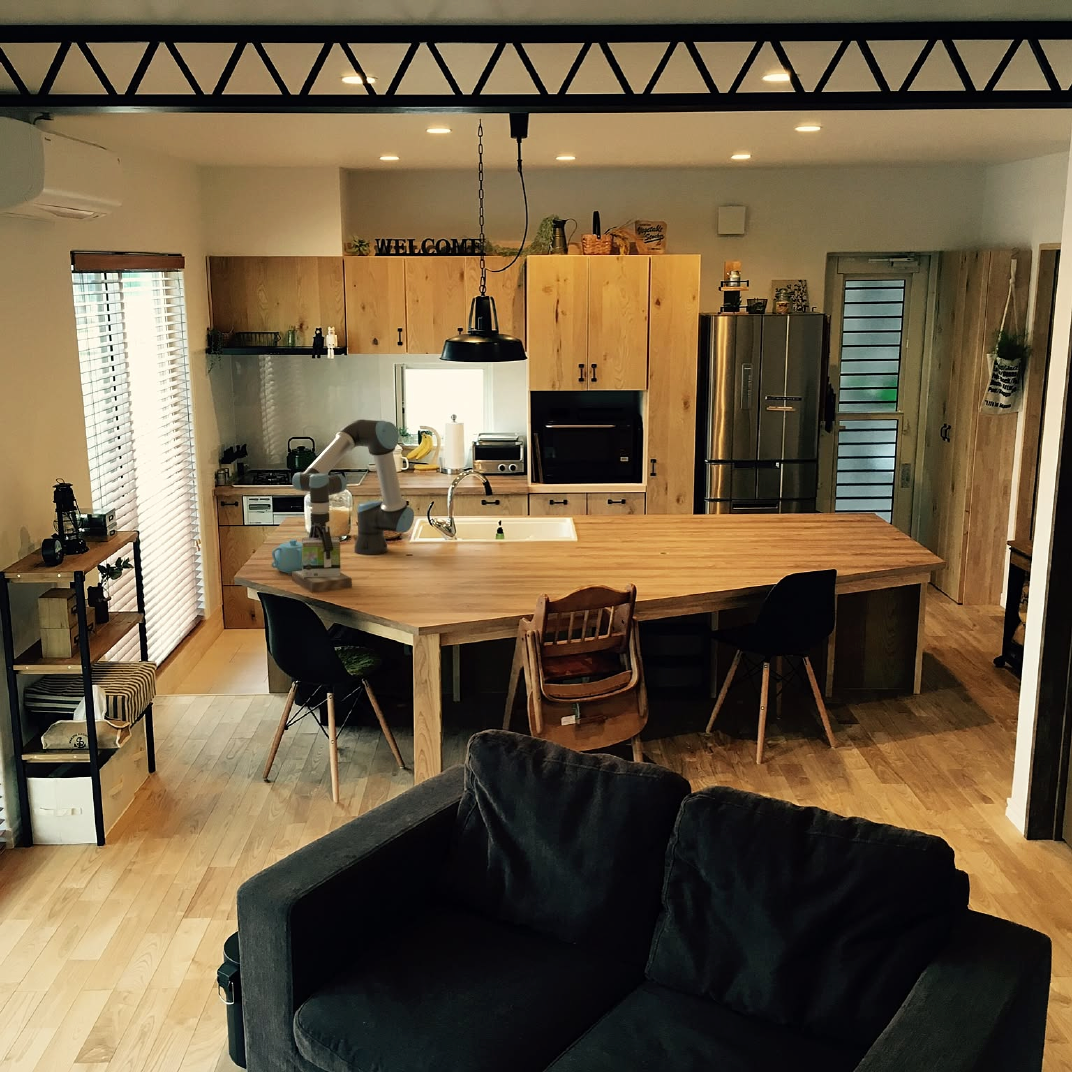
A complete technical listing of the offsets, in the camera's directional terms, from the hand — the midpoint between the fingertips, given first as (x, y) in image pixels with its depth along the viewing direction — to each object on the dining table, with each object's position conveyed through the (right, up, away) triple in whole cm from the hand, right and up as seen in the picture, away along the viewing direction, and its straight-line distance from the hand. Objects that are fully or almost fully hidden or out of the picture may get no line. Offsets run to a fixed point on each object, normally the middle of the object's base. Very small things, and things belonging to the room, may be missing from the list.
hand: (321, 563), depth 464 cm
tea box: (0, -5, +1) cm, 5 cm away
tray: (0, -8, +2) cm, 9 cm away
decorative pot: (-16, -4, +22) cm, 28 cm away
